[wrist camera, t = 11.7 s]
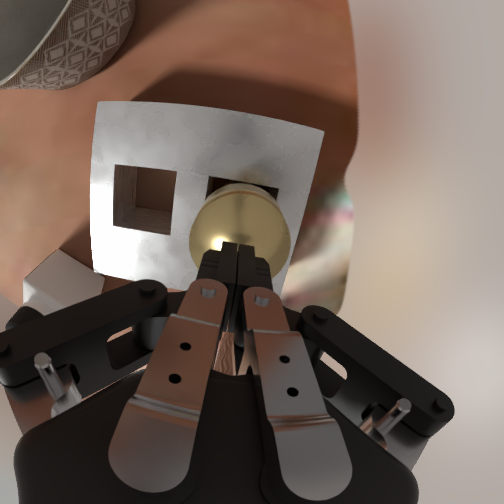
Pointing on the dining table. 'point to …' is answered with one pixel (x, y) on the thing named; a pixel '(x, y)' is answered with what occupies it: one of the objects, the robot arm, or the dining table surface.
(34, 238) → the dining table surface
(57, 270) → the medicine bottle
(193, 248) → the brass knob
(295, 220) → the jig
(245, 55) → the dining table surface
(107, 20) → the planter
